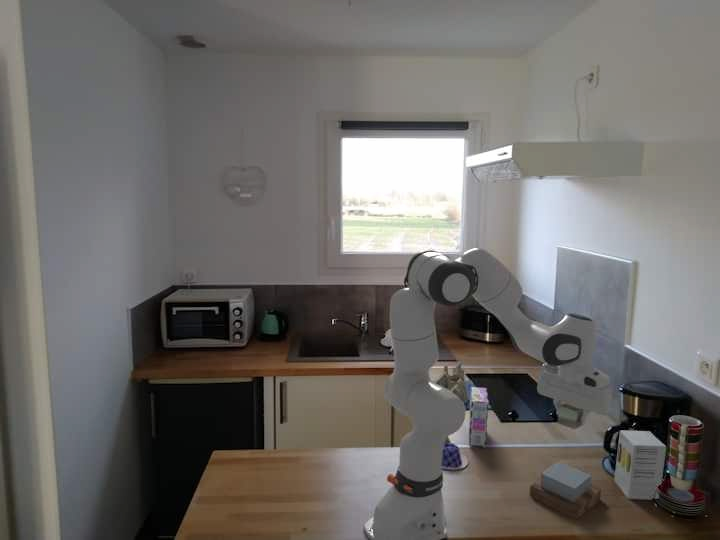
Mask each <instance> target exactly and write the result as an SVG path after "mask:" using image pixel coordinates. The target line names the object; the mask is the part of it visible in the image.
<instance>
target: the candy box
mask: <svg viewBox="0 0 720 540" xmlns="http://www.w3.org/2000/svg"><path fill="white" fill-rule="evenodd" d="M487 390H488V389H487V388H486V387H478V386H471V387H470V399H469V402H470V403H469V420H468V421H469V423H468V446H471V447H479V448H480V447H481V448H486V446H487V430H488V429H487V428H488V418H489V417H488V415H489V413H488V412H489V397H488V391H487Z"/></svg>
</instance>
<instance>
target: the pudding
mask: <svg viewBox="0 0 720 540" xmlns="http://www.w3.org/2000/svg"><path fill="white" fill-rule="evenodd" d="M468 464H469V460H468V458H467V456H465V455H464V454H462V453H461V452H460V448H459V446H458V445H456V444H454V443H452V442H451V443H450V442H446V443H444V447H443V455H442V469H445V470H454V471H455V470H461V469H464V468H465V467H466V466H468ZM446 467H447V468H446ZM448 467H451V468H448Z"/></svg>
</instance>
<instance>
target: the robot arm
mask: <svg viewBox="0 0 720 540" xmlns="http://www.w3.org/2000/svg"><path fill="white" fill-rule="evenodd" d="M403 279H404V280H403V284H404V286H405V287H404V288H402V289H399V290H397V291H396V292H395V293H393V295H391V298H390V300H389V301H390V302H389V327H390V335H391V340H392V341H391V342H392V350H393V356H394V364H393V365H394V367H393V372H392V373H391V374H390V375H389V376H388V378H387V379H386V381H385V383H384V388H383V393H384V397H385V399H386V400H387V401H388V403H390V405H391V406H392V407H393V408H394V409H395V410H396V411H398V412H399V413H401V414H402V415H404V416H406V417H408V418H409V419H410V420H411V422H412V430H411V431H410V432H408V433H406V434H405V435H404V436H403V437H402V438H401V440H400V443H399V463H398V464H399V465H398V467H397V470H396V474H395V476H394V475H393V474H392V473H390V474H388V475H387V477H386V482H388V483H390V484H392V486H390V488H389V489H388V490H387V492H386V493H385V494H384V496H383V497H382V498H380V501H378V503H377V504H376V506H375V508H374V512H373V516H371V517H370V518H369V520H367V521H366V522H364V524H363V530H364V532H365V534H366V536H367V537H368V538H369V539H370V540H442V539H445V538H446V537H448V529H447V528H446V517H445V507H444V499H443V492H442V488H443V486H444V485H443V483H444V471H443V468H442V455H443V447H444V444H446V443H445V442H446V440H447V439H448V437H450V436H452V435H454V434H455V433H456V432H458V431H459V430H460V429H461V427H462V426H463V424H464V423H465V419H466V414H467V413H466V410H467V409H466V406H465V405H466V404H464V403H463V402H462V401H461V400H460V399H459V398H458V397H457V396H456V395H455V394H454V393H453V392H451V391H450V390H448V389H446V388H444V387H442V386H440V385H438V384H436V383H435V381H433V380H432V379H431V377H430V369H432V368H433V367H434V365H435V364H436V363H437V362H438V360H439V356H440V353H439V344H438V339H437V329H436V323H435V318H434V316H435V309H436V306H437V304H438V305H440V306H444V307H450V308H451V307H457V306H461V305H462V304H463V303H465V302H466V301H467V300H468V299H469V298H471V296H472V297H473V298H474V300H475V301H476V302H478V303H479V305H481V306H482V307H483V308H484V309H485V310H486V311H488V312H489V313H491V314H493V316H494V318H496V319H497V320H498V322H499V323H500V324H501V325H502V326H503V327H504V328H505V329H506V331H507V333H508V334H509V337H510V340H511V343H512V346H513V347H514V348H515V350H517V351H518V352H519V353H522V354H524V355H527V356H530V357H532V358H534V359H535V360H537V361H540V362H541V363H543V364H542V365H540V366H539V376H538V381H537V386H536V390H537V393H538V394H539V395H541V396H544V397H548V398H550V399H553V400H552V403H553V405H554V407H555V409H556V412H555V414H556V415H557V416H558V413H559V406H561V402H562V403H563V404H565V403H567V404H570V405H573V406H576V407H579V408H582V409H583V412H584V415H580V416H579V417H578V419H579V420H578V422H579V423H582V424H583V425H584V424H586V423H587V417H588V416H589V415H590V414H591V413H594V414H597V415H600V416H606V415H607V414H609V413H611V411H612V406H613V393H612V389H611V387H610V386H609V385H610V384H611V380H612V379H611V377H610V376H609V375H608V374H607V373H604V372H603V371H602V370H600V369H598V368H596V367H595V366H594V360H593V353H594V351H595V348H596V346H595V345H596V326H595V322H594V320H593V319H591V318H590V317H588V316H585V315H581V314H577V313H567V314H566V313H565V315H564V317H563V318H562V319H561V321H559V322H558V323H556V324H554V325H553V326H550V325H546V324H544V323H541V322H539V321H537V320H535V319H533V318H530V317H526V316H525V313H523V312H522V311H521V310H520V308H519V307H518V306H519V303H520V302H521V301H522V297H523V287H522V285H521V284H520V282H519V280H518V278H517V277H515V275H514V274H513V273H512V272H511V271H510V270H509V268H508V267H507V266H505V265H504V263H502V262H501V261H500V260H499V259H498V258H496V257H495V256H494V254H493V255H492V254H491V253H490V252H488V251H487V250H485V249H483V248H480V247H477V248H476V247H474V248H471V249H468V250H467V251H465V252H464V253H463V254H461V255H460V257H458V258H457V259H453V258H452V257H451V256H449V255H446V254H443V253H441V252H438V251H436V250H430V249H429V250H422V251H418V252H417V253H416V254H414V255H413V256H412V257H411V259H410V261H409V263H408V266H407V270H406V274H405V277H404V278H403Z"/></svg>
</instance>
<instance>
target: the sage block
mask: <svg viewBox="0 0 720 540" xmlns="http://www.w3.org/2000/svg"><path fill="white" fill-rule="evenodd" d="M580 415H584V412H583V409H582V408H579V407H576V406H573V405H570V404H567V403H563V404H562V405H561V406H559V413H558V415H557V424H558V425H562V426H563V427H566V428H569V429H572V430H574V431H575V430H576V429H578V428H580V427H582V426H583V425H584V424H582V423H579V422H578V420H579V419H578V417H579V416H580Z"/></svg>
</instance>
